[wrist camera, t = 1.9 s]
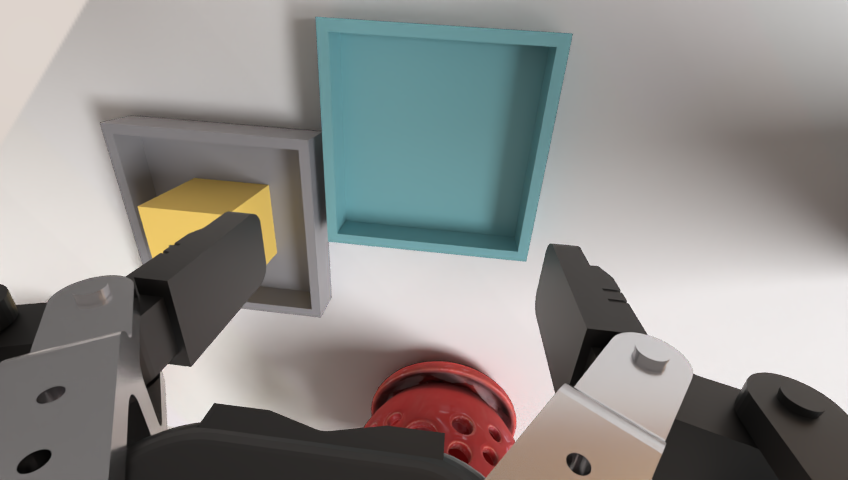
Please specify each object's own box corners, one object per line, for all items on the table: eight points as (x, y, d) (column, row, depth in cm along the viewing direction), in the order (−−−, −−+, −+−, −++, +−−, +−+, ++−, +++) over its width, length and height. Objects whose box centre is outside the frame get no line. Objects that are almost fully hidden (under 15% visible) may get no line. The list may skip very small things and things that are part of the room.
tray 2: (561, 34, 21) (572, 33, 18) (521, 243, 26) (526, 261, 24) (330, 19, 21) (315, 16, 19) (339, 225, 27) (327, 241, 25)
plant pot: (374, 328, 31) (324, 483, 20) (541, 365, 31) (580, 540, 20) (355, 437, 37) (308, 601, 26) (494, 468, 37) (505, 644, 26)
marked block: (269, 184, 26) (225, 215, 21) (277, 252, 28) (240, 294, 23) (194, 177, 26) (136, 207, 21) (208, 245, 28) (158, 285, 24)
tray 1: (322, 131, 24) (308, 140, 22) (331, 297, 30) (320, 317, 27) (131, 115, 25) (99, 122, 23) (175, 280, 30) (152, 298, 28)
